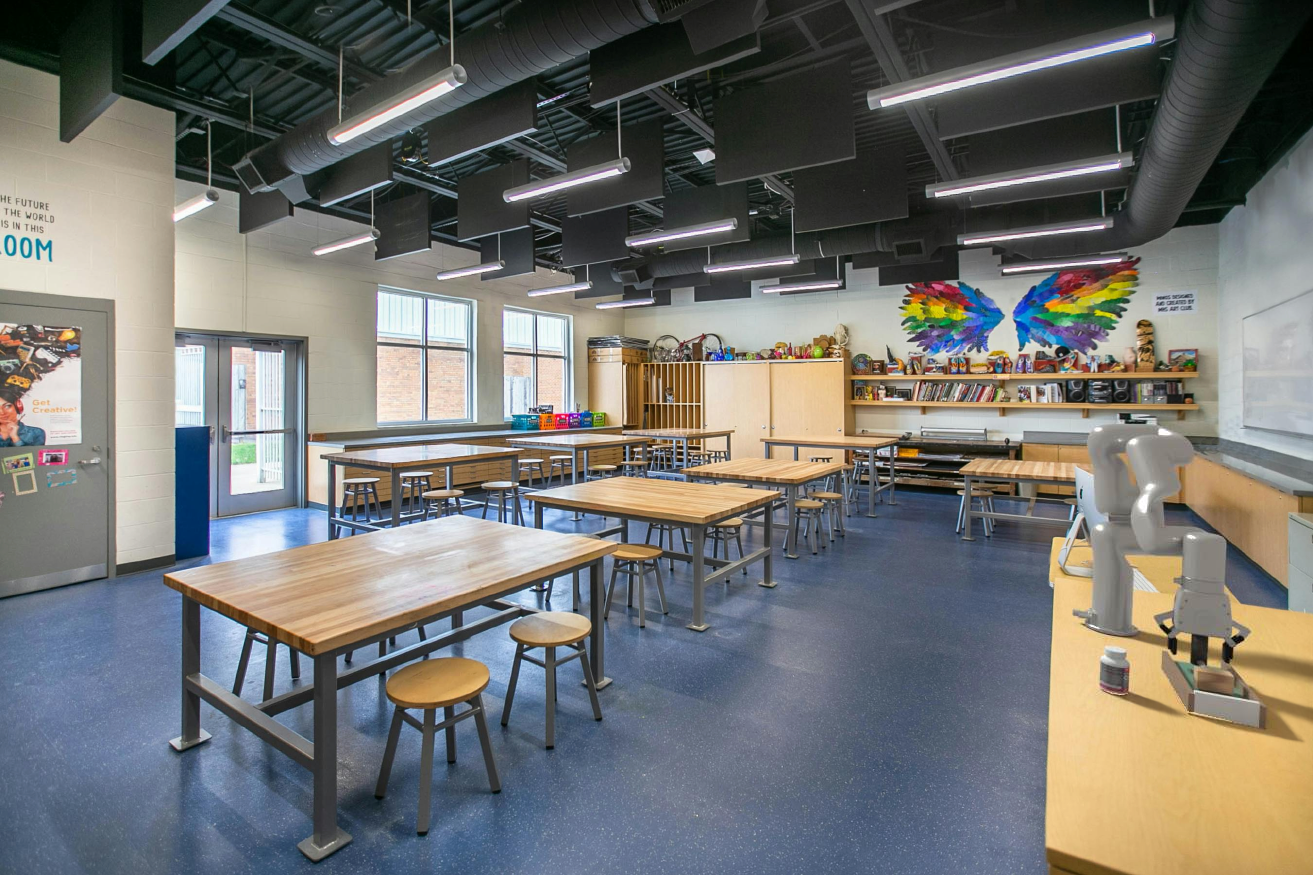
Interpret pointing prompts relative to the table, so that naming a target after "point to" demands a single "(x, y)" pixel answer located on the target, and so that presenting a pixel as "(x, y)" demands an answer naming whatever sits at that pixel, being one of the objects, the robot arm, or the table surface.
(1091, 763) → the table surface
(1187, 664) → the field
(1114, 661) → the pill bottle
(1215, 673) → the striker
